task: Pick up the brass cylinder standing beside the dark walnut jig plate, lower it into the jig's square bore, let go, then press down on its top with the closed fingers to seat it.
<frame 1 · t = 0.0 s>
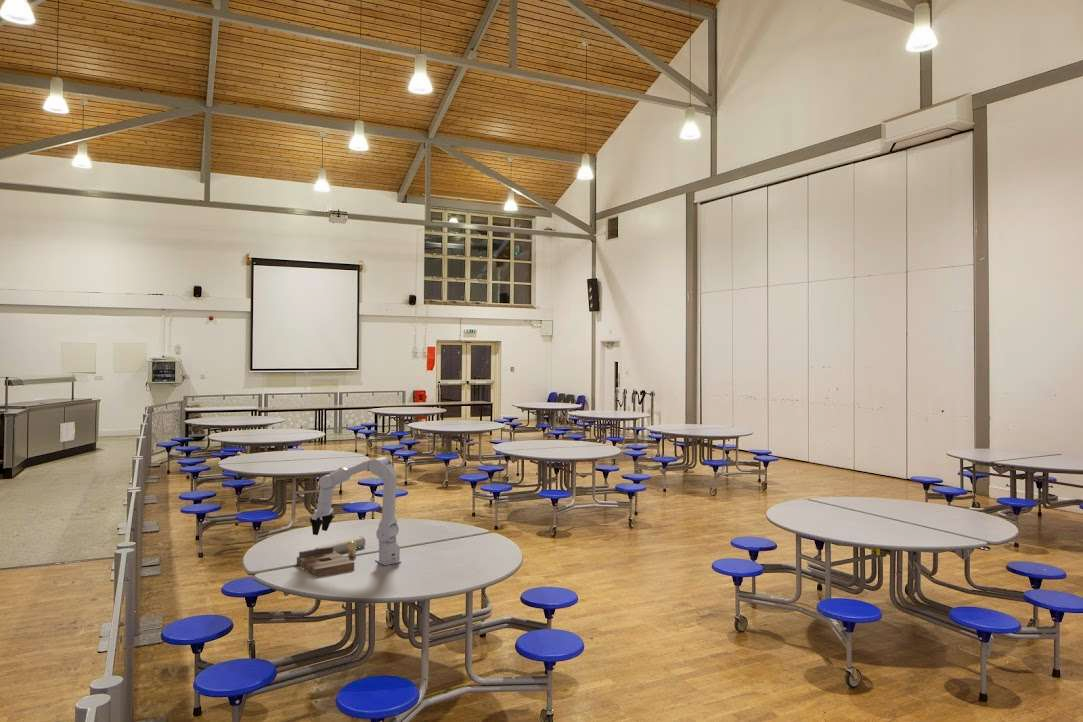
hand: (319, 532, 291), 11 cm above the table, tool pointing down, fingers open, 7 cm apart
jig: (325, 566, 276), on the table
tube: (338, 553, 298), on the table
brass cylinder: (351, 558, 289), on the table
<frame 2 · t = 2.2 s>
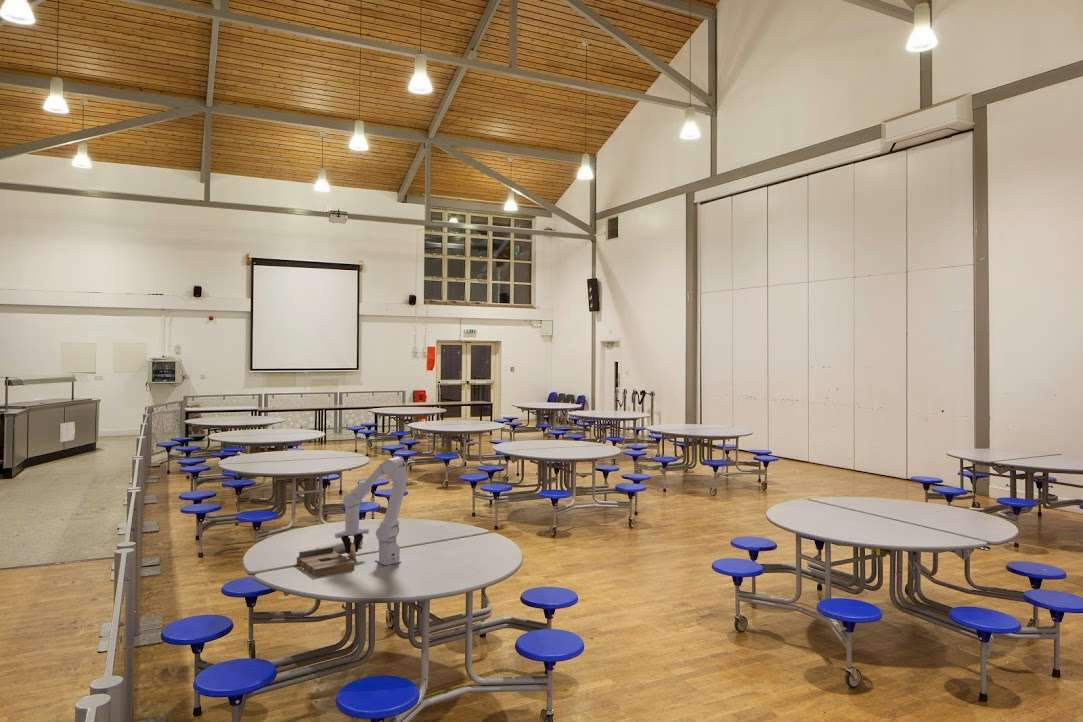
hand: (351, 552, 289), 2 cm above the table, tool pointing down, fingers closed on brass cylinder, 3 cm apart
brass cylinder: (351, 558, 289), on the table, touching gripper
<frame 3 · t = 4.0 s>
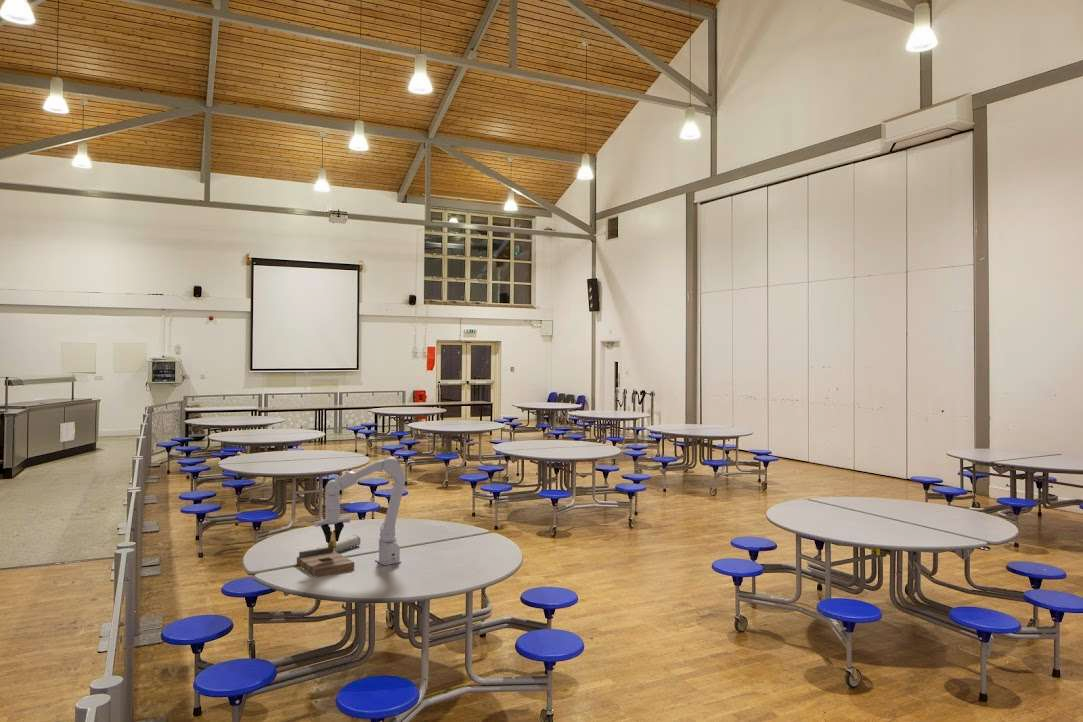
hand: (332, 541, 279), 10 cm above the table, tool pointing down, fingers closed on brass cylinder, 3 cm apart
brass cylinder: (332, 547, 279), point 7 cm above the table, touching gripper
when the fingers open (4 cm above the table, at t = 6.1 s): brass cylinder drops 2 cm, resting in jig.
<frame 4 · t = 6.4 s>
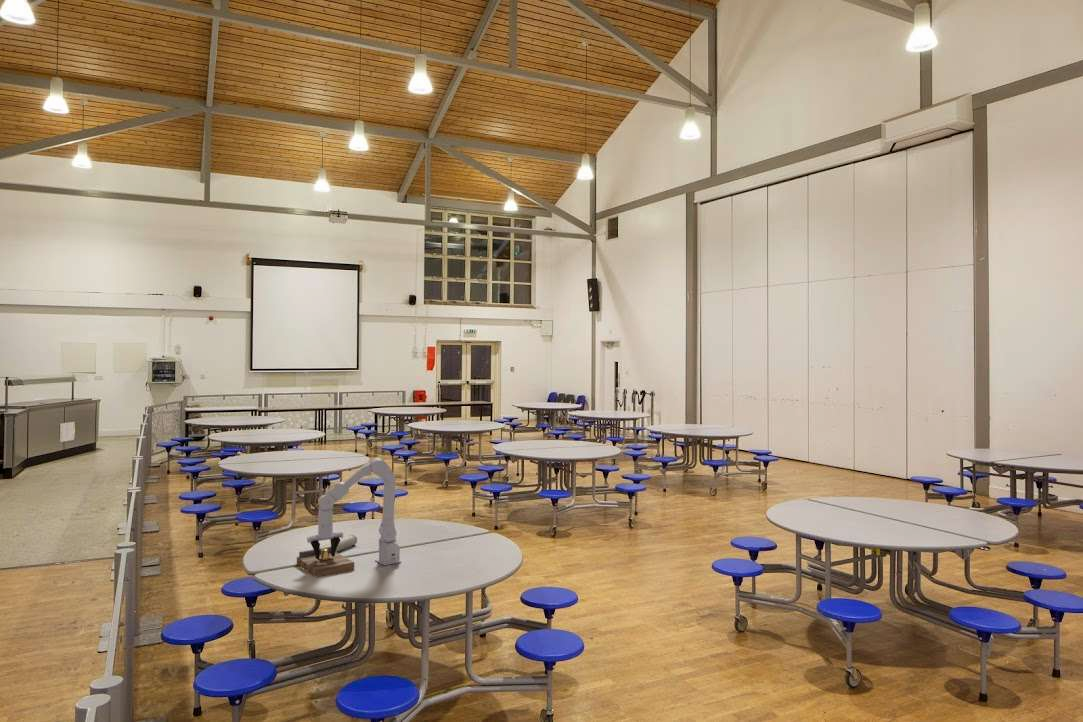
hand: (325, 557, 276), 4 cm above the table, tool pointing down, fingers open, 6 cm apart
brass cylinder: (324, 566, 276), resting in jig
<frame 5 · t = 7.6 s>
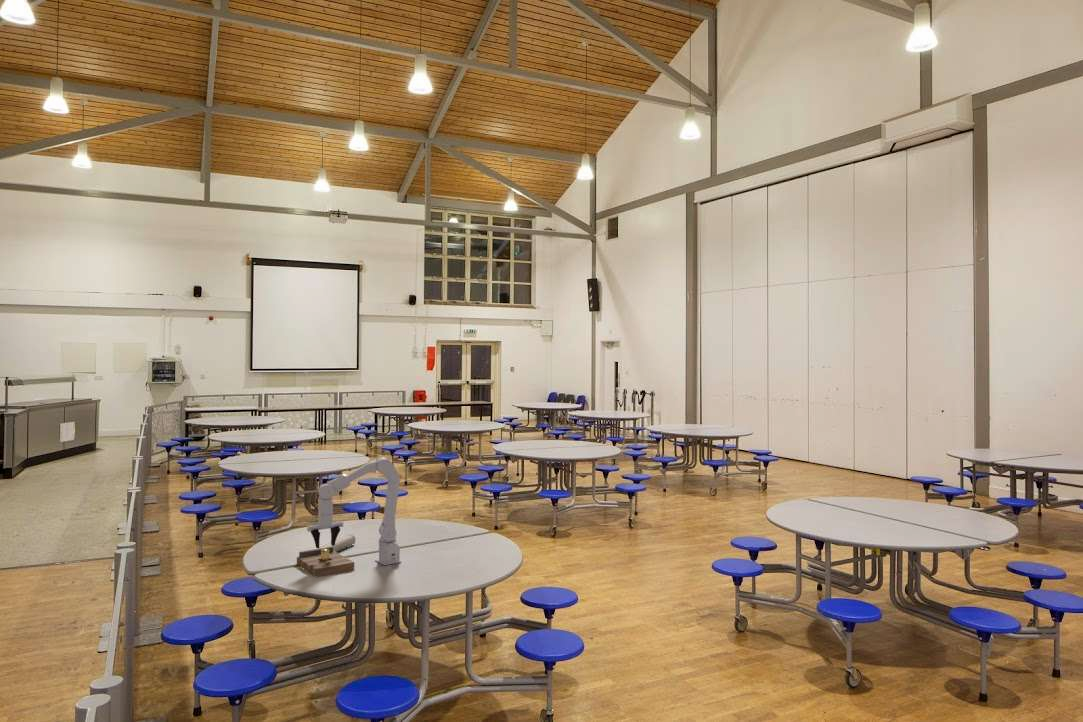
hand: (325, 546, 276), 8 cm above the table, tool pointing down, fingers open, 6 cm apart
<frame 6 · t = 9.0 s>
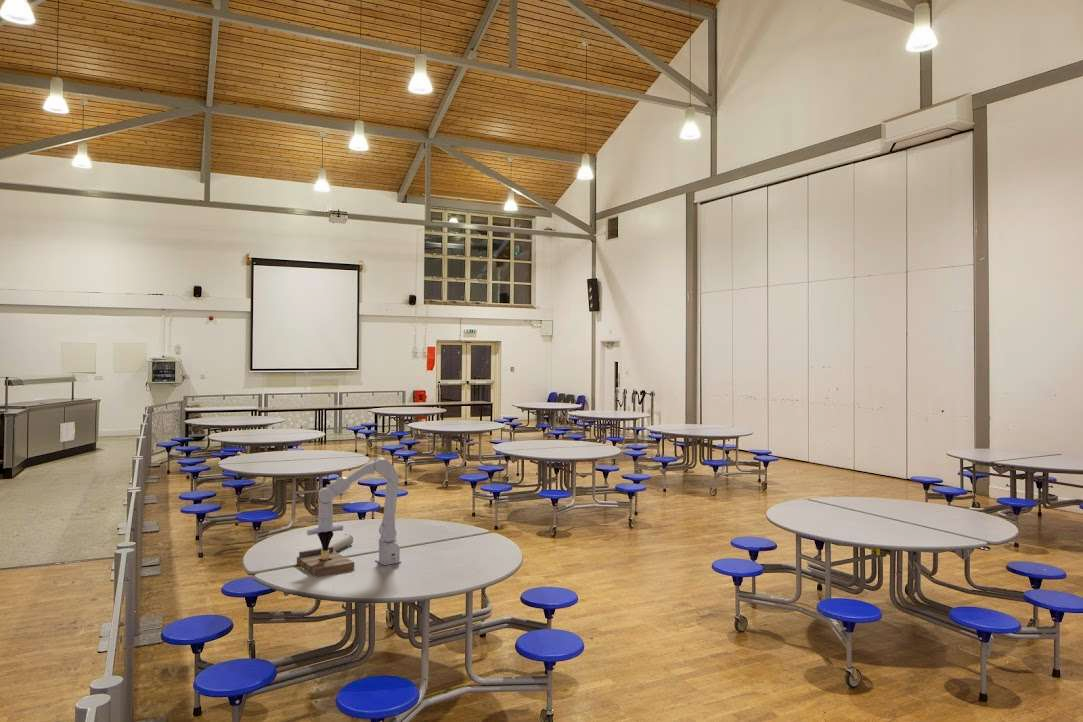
hand: (325, 550, 276), 7 cm above the table, tool pointing down, fingers closed, pressing on brass cylinder
brass cylinder: (324, 566, 276), resting in jig, touching gripper
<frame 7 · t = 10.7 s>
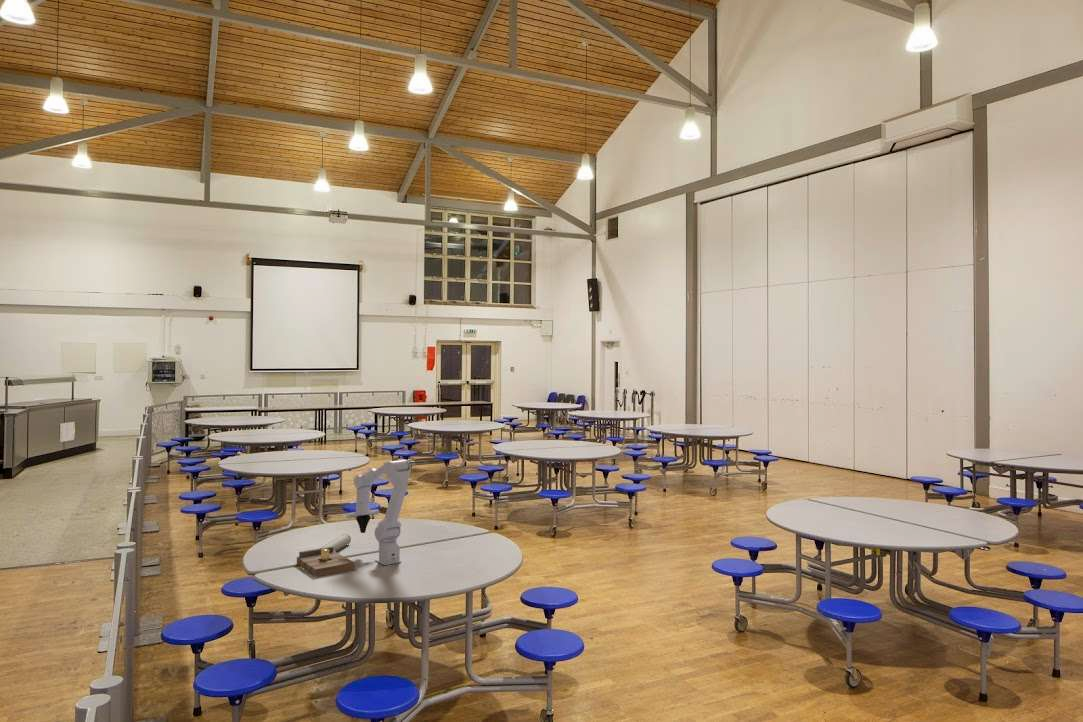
hand: (362, 532, 296), 9 cm above the table, tool pointing down, fingers closed
brass cylinder: (324, 566, 276), resting in jig
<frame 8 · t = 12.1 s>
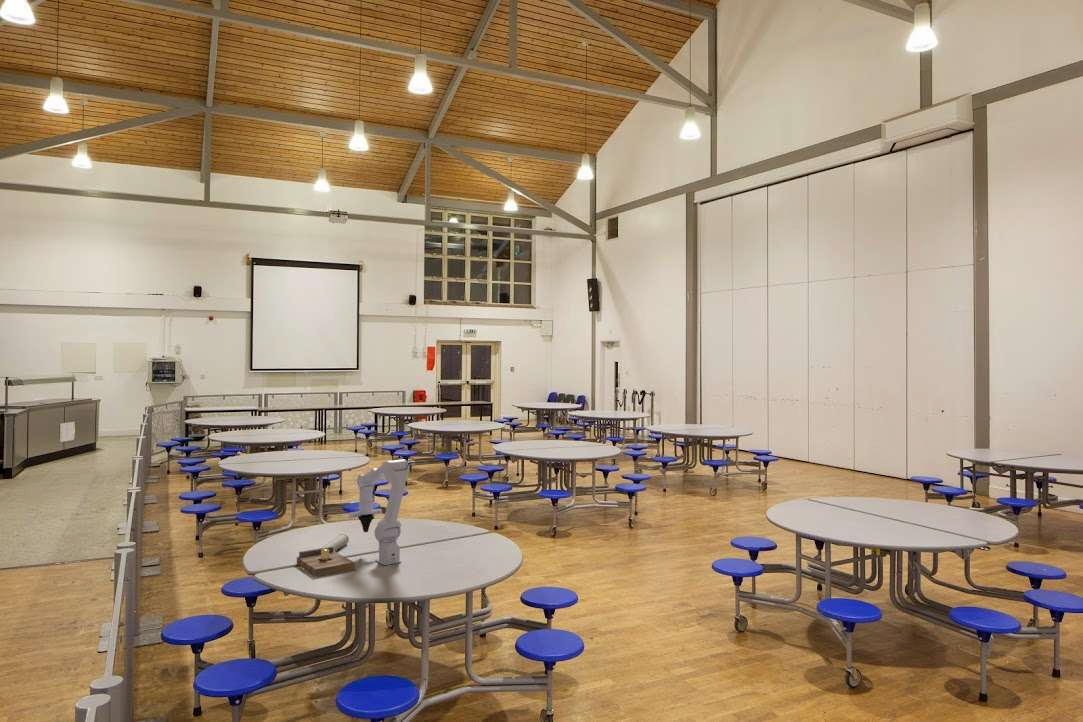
hand: (365, 531, 297), 9 cm above the table, tool pointing down, fingers closed
at the end: brass cylinder 0.1 cm off-centre on the jig, point 0.0 cm above the jig's base; brass cylinder tilted 0°; the gripper is holding nothing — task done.
